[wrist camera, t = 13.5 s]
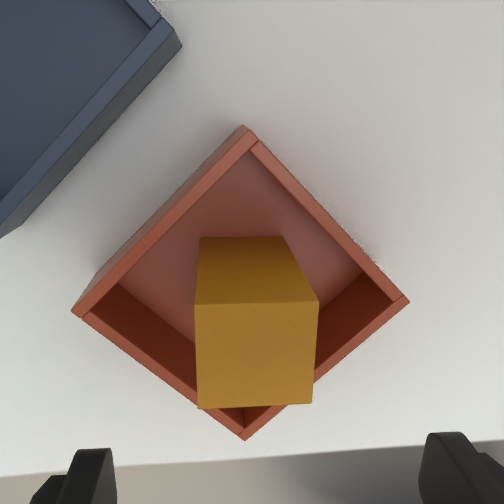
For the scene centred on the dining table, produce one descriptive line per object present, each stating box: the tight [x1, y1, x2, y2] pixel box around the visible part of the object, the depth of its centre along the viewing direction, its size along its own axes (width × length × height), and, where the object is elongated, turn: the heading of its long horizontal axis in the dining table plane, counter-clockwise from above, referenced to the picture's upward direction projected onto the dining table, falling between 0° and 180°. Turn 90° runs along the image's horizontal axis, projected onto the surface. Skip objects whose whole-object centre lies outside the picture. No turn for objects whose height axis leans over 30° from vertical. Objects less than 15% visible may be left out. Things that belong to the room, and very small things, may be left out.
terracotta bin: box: [71, 125, 410, 441], centre depth 21 cm, size 11×11×4 cm
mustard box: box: [194, 237, 319, 409], centre depth 19 cm, size 4×4×8 cm
